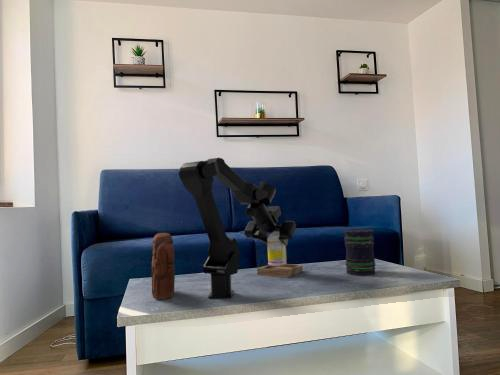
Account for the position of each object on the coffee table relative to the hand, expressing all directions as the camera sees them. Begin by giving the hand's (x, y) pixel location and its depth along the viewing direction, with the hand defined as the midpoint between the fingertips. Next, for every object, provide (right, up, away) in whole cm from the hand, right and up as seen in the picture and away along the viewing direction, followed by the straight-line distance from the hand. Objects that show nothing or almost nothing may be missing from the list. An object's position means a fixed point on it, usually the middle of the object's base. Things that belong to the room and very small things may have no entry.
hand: (278, 244), depth 125 cm
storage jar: (+28, -9, -5) cm, 30 cm away
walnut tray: (+1, -10, 0) cm, 10 cm away
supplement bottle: (-1, -7, -1) cm, 8 cm away
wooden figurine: (-36, -11, -25) cm, 45 cm away
